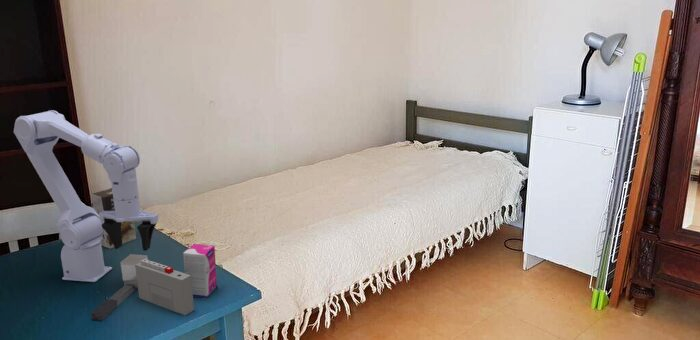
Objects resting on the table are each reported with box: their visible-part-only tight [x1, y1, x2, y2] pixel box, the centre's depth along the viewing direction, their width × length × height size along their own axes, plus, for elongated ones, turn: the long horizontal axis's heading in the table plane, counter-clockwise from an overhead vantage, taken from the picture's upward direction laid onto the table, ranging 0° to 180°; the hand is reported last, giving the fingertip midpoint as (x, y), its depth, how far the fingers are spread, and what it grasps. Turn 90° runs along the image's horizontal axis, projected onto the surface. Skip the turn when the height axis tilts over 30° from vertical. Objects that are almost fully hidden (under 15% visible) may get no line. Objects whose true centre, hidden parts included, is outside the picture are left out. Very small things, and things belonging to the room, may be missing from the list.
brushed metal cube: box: [119, 253, 149, 282], centre depth 138 cm, size 5×5×5 cm
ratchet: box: [90, 281, 138, 322], centre depth 132 cm, size 20×6×4 cm, turn 171°
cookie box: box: [91, 187, 137, 249], centre depth 162 cm, size 9×6×16 cm
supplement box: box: [182, 243, 218, 299], centre depth 133 cm, size 6×6×12 cm
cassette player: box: [135, 259, 195, 316], centre depth 128 cm, size 16×3×10 cm, turn 60°
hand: (132, 248), depth 136 cm, fingers open, 7 cm apart
